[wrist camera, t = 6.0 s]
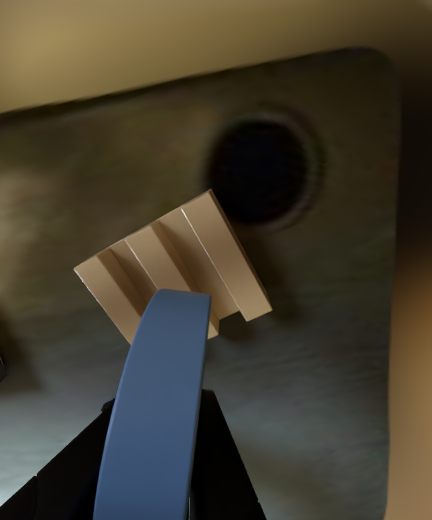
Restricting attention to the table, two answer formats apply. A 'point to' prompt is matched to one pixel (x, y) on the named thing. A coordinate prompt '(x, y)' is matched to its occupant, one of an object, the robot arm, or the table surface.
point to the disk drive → (2, 371)
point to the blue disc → (156, 413)
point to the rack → (177, 267)
